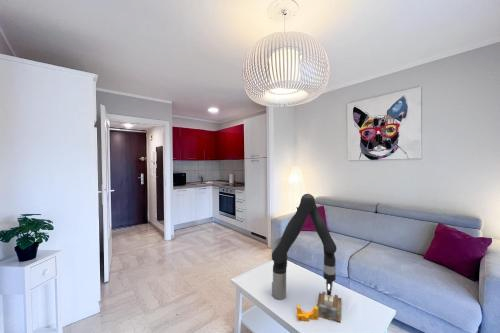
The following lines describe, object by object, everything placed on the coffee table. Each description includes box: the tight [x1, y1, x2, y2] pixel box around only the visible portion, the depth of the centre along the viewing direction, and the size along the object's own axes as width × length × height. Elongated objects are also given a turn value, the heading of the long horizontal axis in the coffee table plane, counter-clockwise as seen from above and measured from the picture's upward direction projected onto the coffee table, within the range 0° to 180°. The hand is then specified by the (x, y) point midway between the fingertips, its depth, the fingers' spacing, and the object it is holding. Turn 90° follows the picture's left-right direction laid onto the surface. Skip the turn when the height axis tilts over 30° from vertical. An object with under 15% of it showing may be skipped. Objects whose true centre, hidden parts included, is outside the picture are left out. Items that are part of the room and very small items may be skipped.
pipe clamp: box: [296, 304, 319, 322], centre depth 125 cm, size 12×4×6 cm, turn 86°
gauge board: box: [316, 291, 342, 324], centre depth 134 cm, size 14×22×6 cm, turn 156°
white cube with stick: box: [324, 294, 334, 307], centre depth 132 cm, size 5×6×8 cm
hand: (329, 297), depth 137 cm, fingers closed
